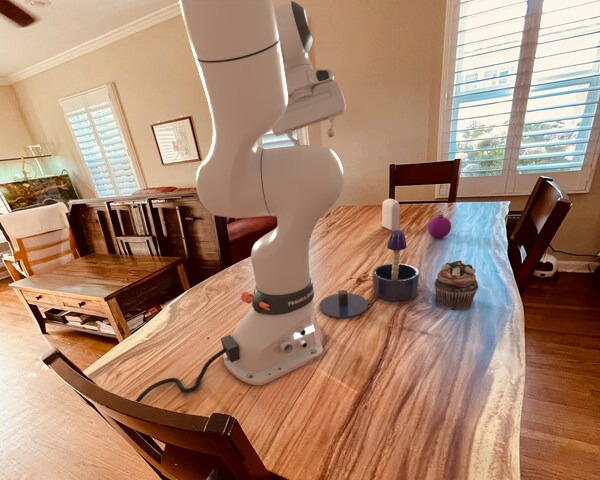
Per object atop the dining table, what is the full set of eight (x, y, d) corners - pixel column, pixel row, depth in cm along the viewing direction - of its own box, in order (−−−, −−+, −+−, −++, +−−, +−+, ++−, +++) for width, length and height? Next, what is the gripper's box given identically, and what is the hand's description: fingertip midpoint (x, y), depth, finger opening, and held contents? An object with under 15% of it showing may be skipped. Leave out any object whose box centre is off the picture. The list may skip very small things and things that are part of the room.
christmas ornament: (444, 233, 124) (447, 208, 119) (453, 239, 116) (457, 212, 112) (423, 235, 124) (425, 210, 119) (431, 242, 117) (434, 215, 112)
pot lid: (346, 326, 73) (345, 309, 71) (309, 310, 81) (308, 294, 79) (377, 305, 80) (378, 289, 78) (340, 292, 88) (340, 277, 86)
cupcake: (423, 299, 80) (427, 263, 75) (452, 289, 83) (457, 254, 78) (454, 315, 72) (460, 276, 67) (484, 304, 75) (492, 265, 70)
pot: (401, 308, 77) (403, 285, 74) (364, 296, 85) (364, 274, 82) (424, 291, 84) (427, 269, 81) (388, 281, 91) (388, 260, 88)
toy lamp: (406, 290, 84) (410, 230, 76) (398, 297, 81) (401, 235, 73) (390, 286, 87) (392, 227, 79) (382, 293, 84) (383, 233, 76)
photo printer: (380, 226, 142) (381, 198, 136) (389, 224, 142) (390, 196, 136) (391, 231, 133) (392, 202, 127) (400, 230, 133) (402, 200, 127)
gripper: (260, 95, 79) (277, 152, 82) (338, 67, 77) (352, 126, 81) (263, 104, 85) (279, 156, 89) (336, 78, 83) (349, 133, 87)
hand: (314, 142), depth 85 cm, fingers open, 8 cm apart
